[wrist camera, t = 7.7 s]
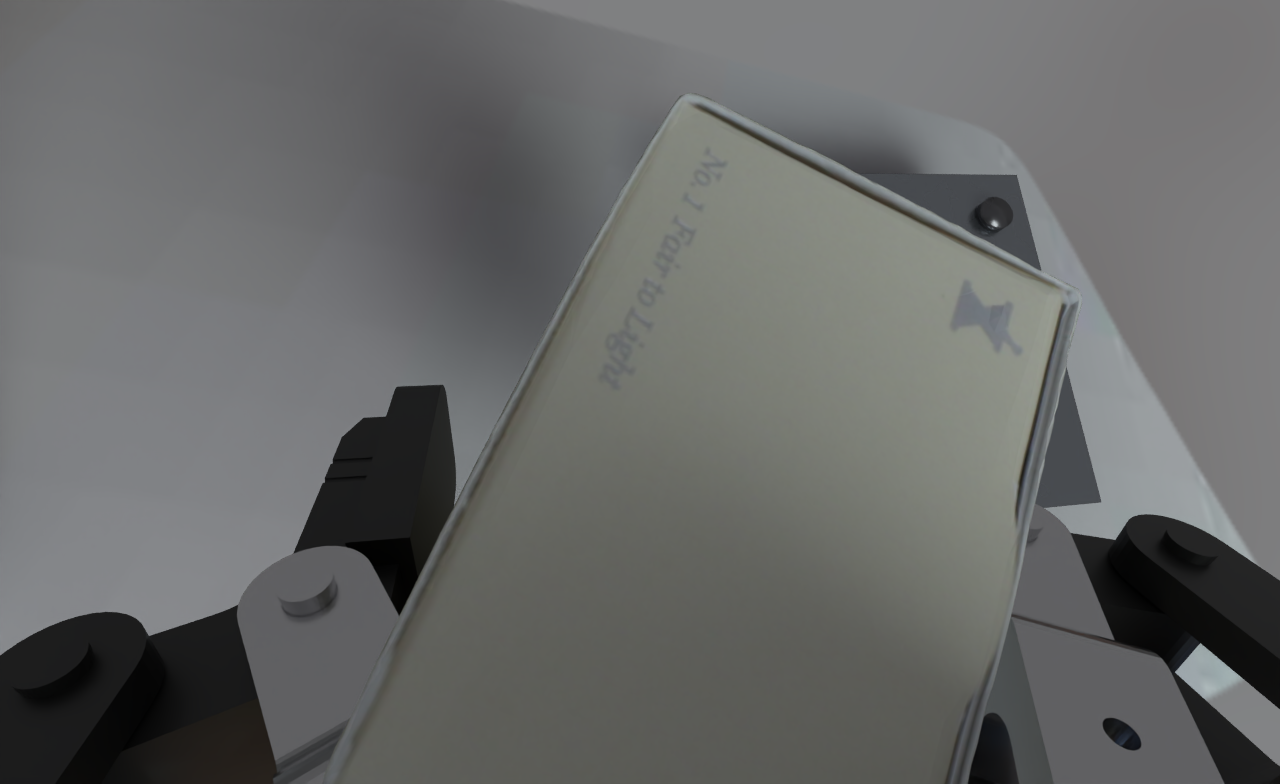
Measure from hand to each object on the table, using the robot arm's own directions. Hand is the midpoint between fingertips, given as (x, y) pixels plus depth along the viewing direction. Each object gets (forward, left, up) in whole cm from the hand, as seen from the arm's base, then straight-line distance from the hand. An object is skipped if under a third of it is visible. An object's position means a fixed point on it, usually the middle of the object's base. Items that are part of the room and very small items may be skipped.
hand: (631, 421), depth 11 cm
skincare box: (0, -2, -6) cm, 6 cm away
